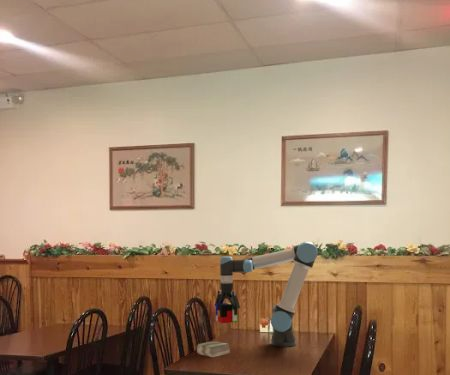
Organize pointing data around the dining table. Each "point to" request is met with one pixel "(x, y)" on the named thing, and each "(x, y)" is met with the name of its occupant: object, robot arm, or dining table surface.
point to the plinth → (213, 348)
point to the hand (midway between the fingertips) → (227, 319)
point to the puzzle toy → (225, 313)
